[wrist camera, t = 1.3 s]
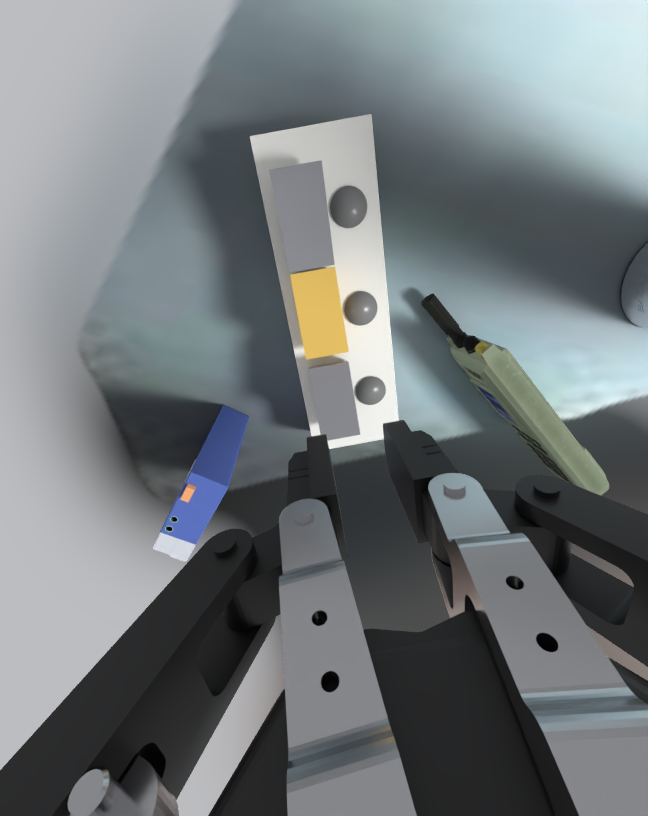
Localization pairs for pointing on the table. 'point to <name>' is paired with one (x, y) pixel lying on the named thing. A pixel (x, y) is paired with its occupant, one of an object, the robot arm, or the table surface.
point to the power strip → (341, 261)
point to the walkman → (203, 486)
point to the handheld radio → (519, 403)
